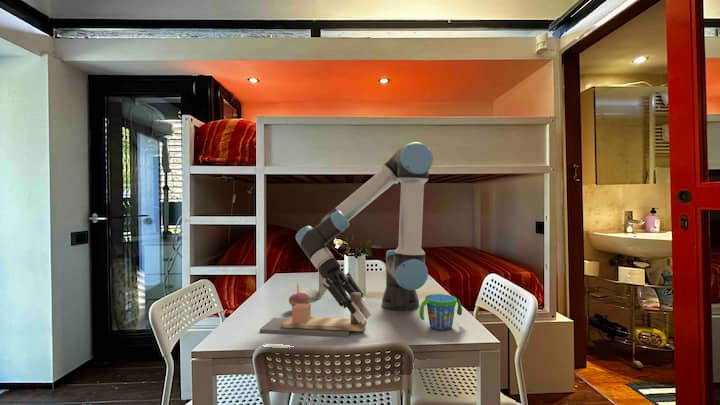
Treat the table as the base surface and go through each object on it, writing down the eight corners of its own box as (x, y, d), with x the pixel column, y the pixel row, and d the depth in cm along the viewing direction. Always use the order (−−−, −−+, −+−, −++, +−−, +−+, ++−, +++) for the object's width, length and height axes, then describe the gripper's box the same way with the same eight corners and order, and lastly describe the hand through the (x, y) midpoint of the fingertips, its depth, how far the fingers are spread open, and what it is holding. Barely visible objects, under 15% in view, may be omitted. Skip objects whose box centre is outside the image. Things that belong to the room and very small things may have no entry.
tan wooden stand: (366, 322, 129) (366, 290, 129) (363, 331, 121) (362, 296, 121) (288, 319, 134) (288, 288, 133) (280, 327, 126) (280, 294, 126)
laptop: (302, 289, 183) (302, 262, 183) (327, 289, 182) (327, 263, 182) (292, 299, 166) (291, 270, 165) (320, 300, 164) (319, 270, 164)
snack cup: (454, 320, 135) (454, 292, 135) (469, 330, 125) (469, 300, 125) (413, 323, 132) (413, 295, 132) (425, 334, 121) (425, 303, 121)
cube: (310, 318, 131) (310, 304, 131) (306, 323, 126) (306, 308, 126) (296, 317, 132) (296, 303, 132) (292, 322, 127) (292, 307, 127)
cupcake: (306, 315, 143) (305, 283, 142) (285, 314, 144) (284, 283, 144) (313, 308, 151) (313, 278, 151) (293, 307, 153) (293, 278, 152)
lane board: (354, 324, 132) (354, 321, 132) (347, 336, 120) (347, 333, 120) (273, 320, 137) (273, 317, 137) (259, 332, 125) (259, 329, 125)
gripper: (334, 266, 141) (372, 317, 132) (304, 274, 127) (344, 332, 118) (345, 253, 138) (385, 305, 129) (316, 260, 124) (358, 319, 115)
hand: (365, 318), depth 124 cm, fingers closed on tan wooden stand, 4 cm apart
